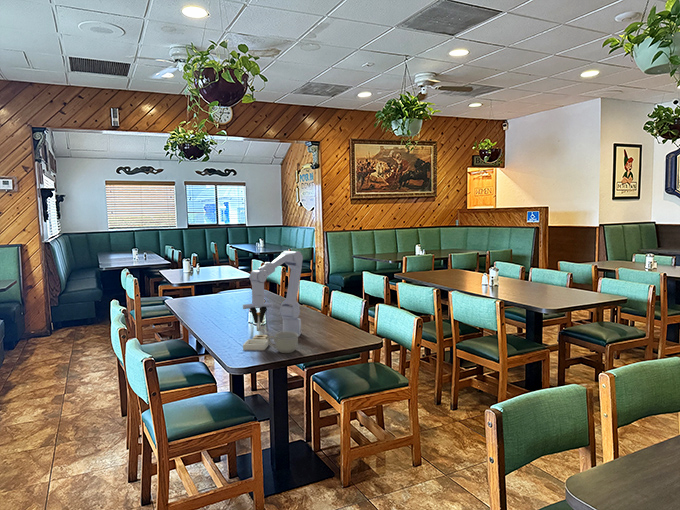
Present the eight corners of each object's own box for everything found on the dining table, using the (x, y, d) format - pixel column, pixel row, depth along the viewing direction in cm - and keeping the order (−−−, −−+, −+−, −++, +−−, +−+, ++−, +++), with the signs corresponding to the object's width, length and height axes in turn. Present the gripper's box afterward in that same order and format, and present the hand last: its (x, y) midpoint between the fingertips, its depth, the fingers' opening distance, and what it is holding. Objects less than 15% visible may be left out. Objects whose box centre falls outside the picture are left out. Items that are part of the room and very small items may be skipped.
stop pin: (261, 330, 227) (261, 312, 227) (260, 331, 225) (260, 313, 224) (256, 330, 227) (256, 312, 227) (255, 331, 225) (255, 313, 224)
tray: (268, 344, 226) (268, 339, 226) (264, 350, 216) (264, 345, 216) (248, 344, 226) (248, 339, 226) (243, 350, 216) (242, 344, 216)
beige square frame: (267, 340, 232) (267, 335, 232) (265, 344, 226) (264, 338, 226) (255, 340, 233) (255, 334, 233) (252, 344, 227) (252, 337, 227)
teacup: (299, 348, 220) (298, 331, 219) (297, 354, 209) (297, 337, 209) (269, 348, 219) (269, 331, 219) (266, 355, 209) (266, 337, 208)
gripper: (270, 292, 231) (270, 319, 232) (241, 294, 226) (241, 322, 227) (274, 294, 225) (274, 322, 226) (244, 296, 219) (244, 325, 220)
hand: (258, 322), depth 226 cm, fingers closed on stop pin, 2 cm apart
